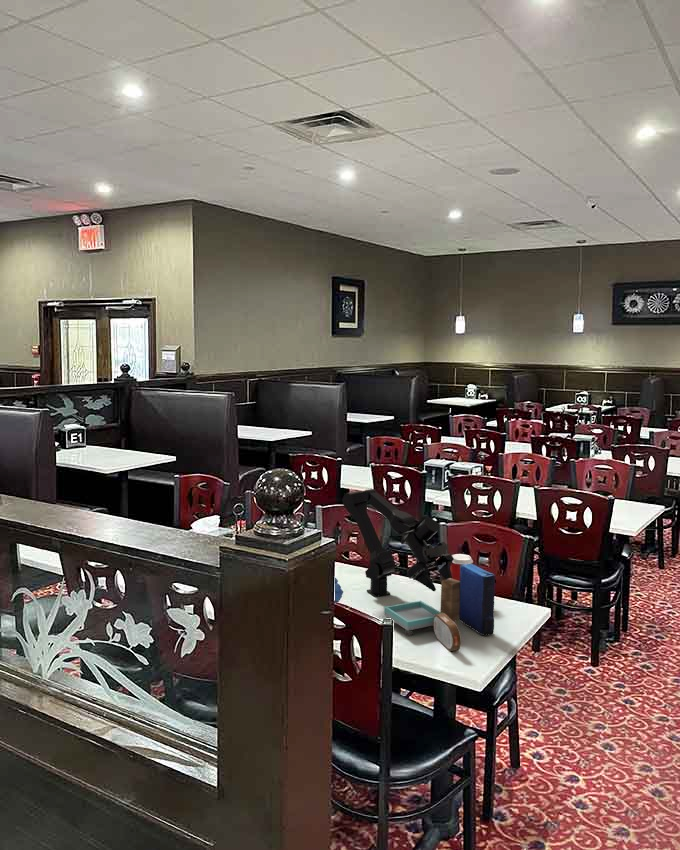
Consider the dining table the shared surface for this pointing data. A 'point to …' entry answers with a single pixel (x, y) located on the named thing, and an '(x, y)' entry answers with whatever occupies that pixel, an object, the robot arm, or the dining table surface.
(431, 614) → the teal shallow tray
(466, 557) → the coffee cup
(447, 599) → the walnut block
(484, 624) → the book
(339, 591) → the grapes
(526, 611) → the dining table surface
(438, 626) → the tin
